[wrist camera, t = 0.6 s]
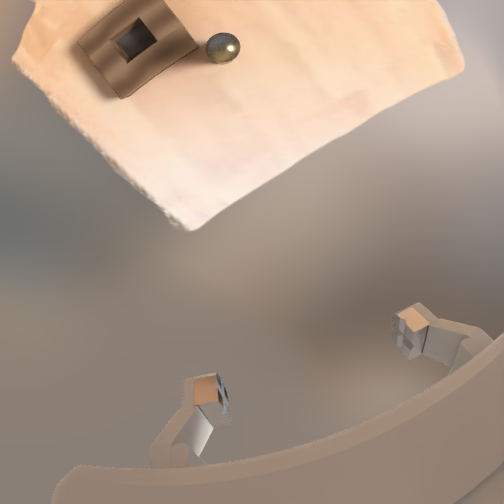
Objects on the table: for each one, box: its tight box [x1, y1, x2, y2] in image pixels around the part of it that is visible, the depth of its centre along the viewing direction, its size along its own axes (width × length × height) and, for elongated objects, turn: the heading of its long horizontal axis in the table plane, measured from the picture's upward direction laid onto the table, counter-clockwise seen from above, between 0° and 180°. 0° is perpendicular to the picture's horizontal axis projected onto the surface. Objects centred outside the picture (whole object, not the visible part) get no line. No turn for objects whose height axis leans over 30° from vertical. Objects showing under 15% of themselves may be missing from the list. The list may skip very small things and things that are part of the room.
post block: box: [78, 0, 199, 99], centre depth 34 cm, size 16×16×5 cm
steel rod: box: [206, 33, 240, 64], centre depth 34 cm, size 5×5×14 cm
